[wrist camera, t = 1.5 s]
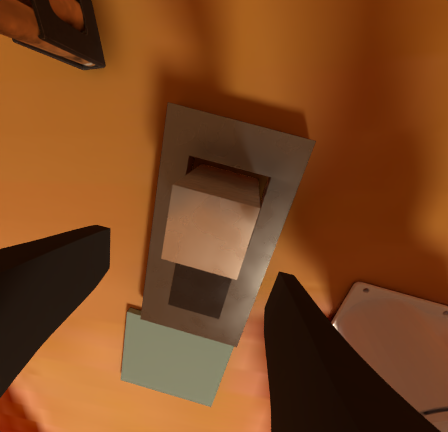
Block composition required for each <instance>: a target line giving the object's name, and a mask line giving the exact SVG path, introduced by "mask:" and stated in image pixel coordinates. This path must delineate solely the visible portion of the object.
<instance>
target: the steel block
mask: <svg viewBox="0 0 448 432" xmlns="http://www.w3.org/2000/svg"><path fill="white" fill-rule="evenodd" d="M259 211H260V196H259V182H258V179H257V178H254V177H250V176H246V175H242V174H239V173H235V172H231V171H228V170H224V169H220V168H216V167H213V166H209V165H205V164H201V165H200V166H198V167H197V168H195V169H194V170H193V171H191V172H190V173H188V174H187V175H186V176H184V177H183V178H181V179H180V180H178V181H177V182H176V183H174V184H173V185H172V192H171V198H170V205H169V211H168V218H167V224H166V231H165V237H164V244H163V250H162V257H161V259H164V260H168V261H171V262H175V263H178V264H182V265H185V266H189V267H192V268H196V269H200V270H203V271H207V272H210V273H214V274H217V275H221V276H224V277H228V278H231V279H235V280H237V278H238V275H239V272H240V269H241V266H242V263H243V260H244V257H245V254H246V251H247V248H248V244H249V241H250V238H251V235H252V232H253V229H254V226H255V223H256V220H257V217H258V214H259Z"/></svg>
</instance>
